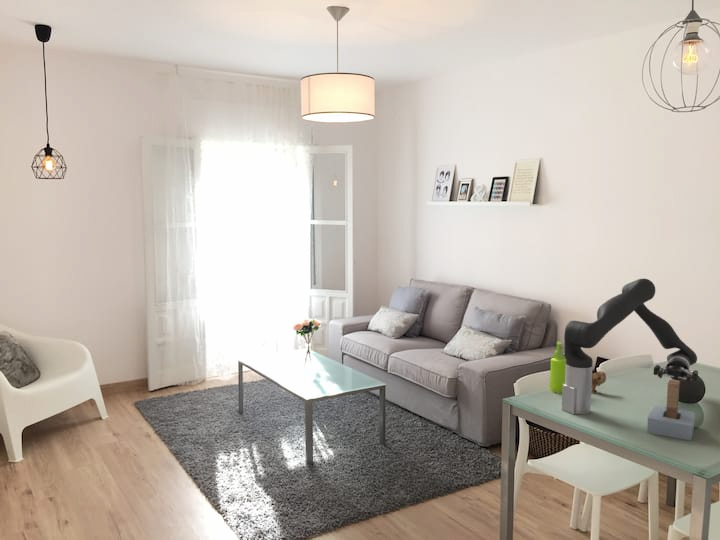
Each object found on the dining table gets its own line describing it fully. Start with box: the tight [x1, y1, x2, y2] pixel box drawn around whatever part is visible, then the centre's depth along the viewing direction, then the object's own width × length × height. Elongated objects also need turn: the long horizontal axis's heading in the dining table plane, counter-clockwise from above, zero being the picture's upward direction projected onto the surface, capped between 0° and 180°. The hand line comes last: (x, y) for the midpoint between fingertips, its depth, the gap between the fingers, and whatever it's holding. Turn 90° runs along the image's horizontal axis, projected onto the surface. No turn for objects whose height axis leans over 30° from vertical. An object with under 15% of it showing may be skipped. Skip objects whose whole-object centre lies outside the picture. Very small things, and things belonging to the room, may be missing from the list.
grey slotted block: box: [646, 404, 696, 441], centre depth 205 cm, size 15×13×5 cm
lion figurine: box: [591, 370, 607, 394], centre depth 247 cm, size 15×5×9 cm, turn 49°
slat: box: [665, 379, 681, 419], centre depth 204 cm, size 5×3×16 cm, turn 147°
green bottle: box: [549, 341, 566, 394], centre depth 246 cm, size 6×7×20 cm
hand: (674, 377), depth 214 cm, fingers open, 8 cm apart
